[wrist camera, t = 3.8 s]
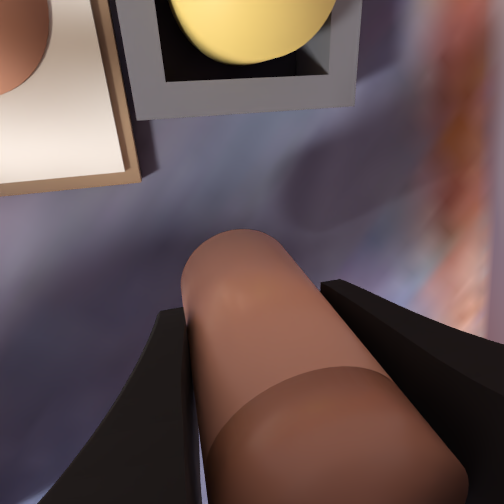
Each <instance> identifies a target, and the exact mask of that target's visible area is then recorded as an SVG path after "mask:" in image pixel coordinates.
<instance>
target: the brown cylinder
mask: <svg viewBox="0 0 504 504" xmlns="http://www.w3.org/2000/svg"><path fill="white" fill-rule="evenodd" d="M181 293H182V301H183V307H184V313H185V320H186V326H187V333H188V341H189V349H190V361H191V372H192V380H193V388H194V395H195V403H196V411H197V419H198V427H199V435H200V442H201V450H202V458H203V466H204V474H205V482H206V490H207V497H208V504H465V502H466V498H467V495H468V487H469V482H468V475H467V473H466V470H465V468H464V467H463V465H462V464H461V463H460V462H459V460H458V459H457V458H456V457H455V455H454V454H453V453H452V452H451V451H450V449H449V448H448V447H447V446H446V444H445V443H444V442H443V441H442V440H441V438H440V437H439V436H438V435H437V434H436V432H435V431H434V430H433V429H432V427H431V426H430V425H429V424H428V423H427V421H426V420H425V419H424V418H423V417H422V415H421V414H420V413H419V412H418V410H417V409H416V408H415V407H414V406H413V404H412V403H411V402H410V401H409V400H408V398H407V397H406V396H405V395H404V393H403V392H402V391H401V390H400V389H399V387H398V386H397V385H396V384H395V382H394V381H393V380H392V379H391V378H390V376H389V375H388V374H387V373H386V372H385V370H384V369H383V368H382V367H381V365H380V364H379V363H378V362H377V361H376V359H375V358H374V357H373V356H372V355H371V353H370V352H369V351H368V350H367V348H366V347H365V346H364V345H363V344H362V342H361V341H360V340H359V339H358V338H357V336H356V335H355V334H354V333H353V331H352V330H351V329H350V328H349V327H348V325H347V324H346V323H345V322H344V320H343V319H342V318H341V317H340V316H339V314H338V313H337V312H336V311H335V310H334V308H333V307H332V306H331V305H330V303H329V302H328V301H327V300H326V299H325V297H324V296H323V295H322V294H321V293H320V291H319V290H318V289H317V288H316V286H315V285H314V284H313V283H312V282H311V280H310V279H309V278H308V277H307V275H306V274H305V273H304V272H303V271H302V269H301V268H300V267H299V266H298V265H297V263H296V262H295V261H294V260H293V258H292V257H291V256H290V255H289V254H288V252H287V251H286V250H285V249H284V248H283V246H282V245H281V244H280V243H279V242H278V241H277V240H276V239H274V238H273V237H271V236H269V235H267V234H265V233H263V232H260V231H256V230H251V229H235V230H230V231H226V232H222V233H219V234H217V235H215V236H213V237H211V238H210V239H208V240H206V241H205V242H204V243H202V244H201V245H200V246H199V247H198V248H197V249H196V250H195V251H194V252H193V253H192V255H191V256H190V257H189V259H188V261H187V263H186V264H185V267H184V270H183V273H182V277H181Z"/></svg>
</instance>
